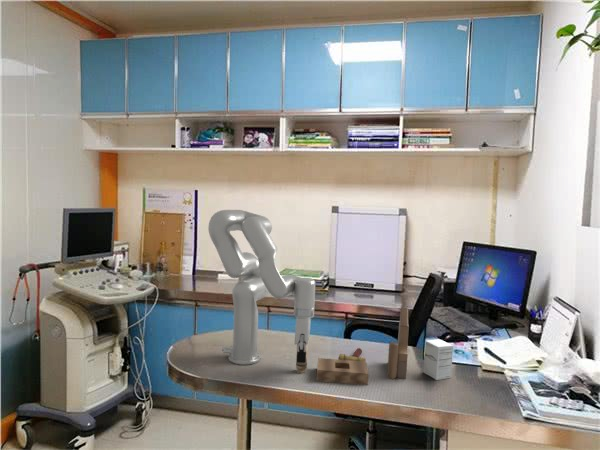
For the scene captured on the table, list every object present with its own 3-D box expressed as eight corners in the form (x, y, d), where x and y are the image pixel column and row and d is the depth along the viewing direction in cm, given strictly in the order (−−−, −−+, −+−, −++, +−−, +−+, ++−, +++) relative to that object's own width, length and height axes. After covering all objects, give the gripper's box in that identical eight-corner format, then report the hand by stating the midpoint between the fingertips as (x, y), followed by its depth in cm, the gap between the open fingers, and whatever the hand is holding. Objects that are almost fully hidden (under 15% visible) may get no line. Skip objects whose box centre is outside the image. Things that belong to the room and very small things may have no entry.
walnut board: (316, 380, 147) (317, 369, 147) (317, 368, 158) (318, 358, 158) (367, 384, 146) (368, 373, 145) (365, 372, 157) (365, 361, 156)
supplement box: (422, 372, 159) (424, 340, 158) (437, 370, 162) (440, 338, 161) (436, 380, 152) (438, 346, 151) (451, 378, 155) (454, 344, 154)
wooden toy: (387, 362, 167) (390, 301, 165) (404, 364, 166) (408, 302, 164) (387, 378, 152) (391, 311, 150) (406, 380, 151) (410, 313, 149)
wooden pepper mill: (295, 373, 152) (296, 341, 152) (296, 368, 157) (297, 337, 156) (306, 374, 152) (307, 342, 151) (306, 369, 156) (308, 338, 156)
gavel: (349, 342, 181) (372, 345, 177) (348, 352, 181) (371, 356, 177) (338, 355, 161) (364, 359, 158) (337, 367, 161) (363, 371, 158)
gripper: (295, 305, 162) (294, 348, 163) (291, 317, 145) (289, 365, 146) (315, 306, 161) (313, 349, 162) (313, 319, 144) (311, 367, 145)
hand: (302, 357), depth 154 cm, fingers open, 9 cm apart
